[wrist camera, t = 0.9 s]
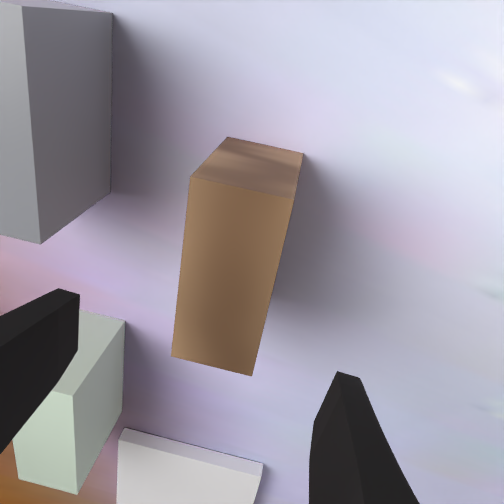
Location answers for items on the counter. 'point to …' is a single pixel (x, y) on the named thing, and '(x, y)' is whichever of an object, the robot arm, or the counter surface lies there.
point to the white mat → (181, 473)
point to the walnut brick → (232, 252)
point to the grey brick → (53, 115)
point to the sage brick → (76, 410)
